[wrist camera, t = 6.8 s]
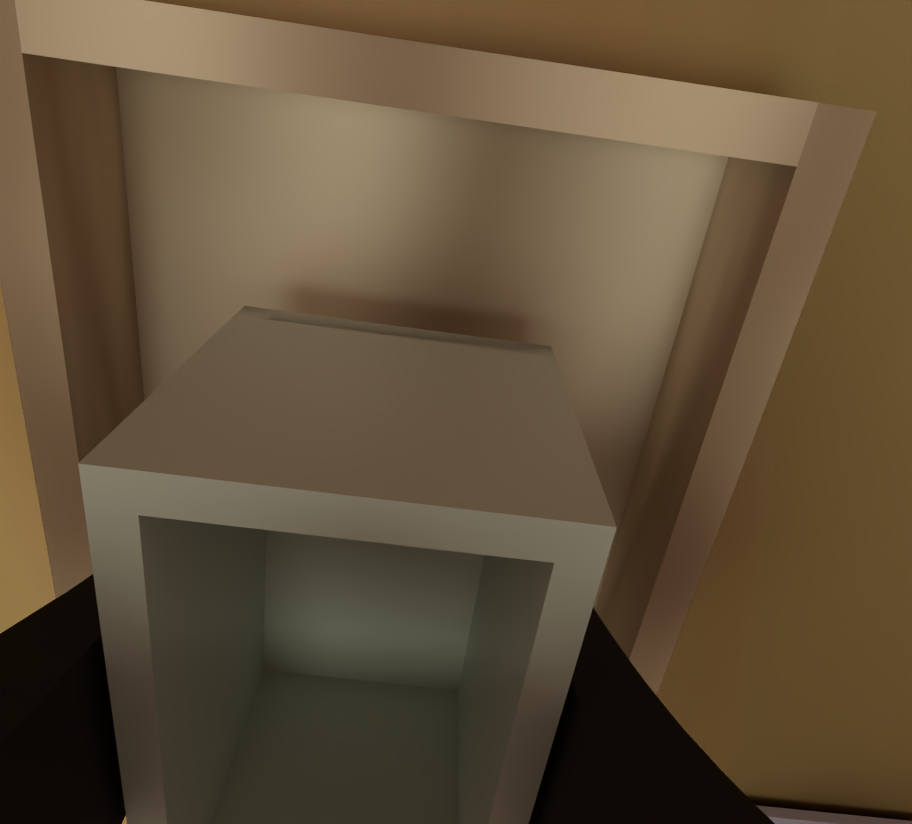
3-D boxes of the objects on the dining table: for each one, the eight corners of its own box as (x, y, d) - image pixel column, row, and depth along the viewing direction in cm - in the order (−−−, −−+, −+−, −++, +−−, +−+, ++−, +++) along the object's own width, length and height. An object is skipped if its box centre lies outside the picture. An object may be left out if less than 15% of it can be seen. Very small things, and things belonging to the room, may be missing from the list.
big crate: (778, 108, 11) (876, 112, 9) (580, 732, 18) (600, 843, 15) (77, 3, 11) (-55, -31, 8) (148, 687, 18) (90, 793, 15)
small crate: (550, 346, 11) (616, 528, 6) (478, 689, 14) (485, 967, 10) (244, 305, 10) (78, 462, 6) (246, 666, 14) (143, 939, 9)
